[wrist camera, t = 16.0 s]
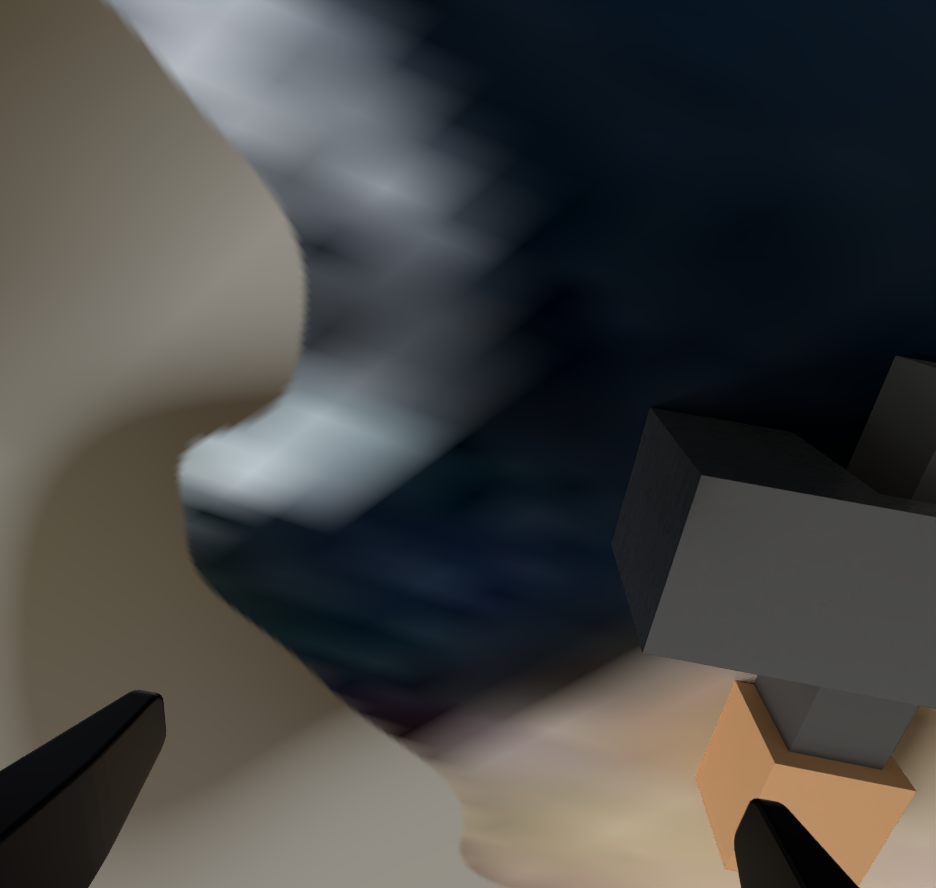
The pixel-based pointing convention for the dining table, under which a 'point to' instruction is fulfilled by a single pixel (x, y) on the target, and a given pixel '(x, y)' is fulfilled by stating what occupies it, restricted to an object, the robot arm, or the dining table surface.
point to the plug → (823, 709)
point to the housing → (776, 561)
